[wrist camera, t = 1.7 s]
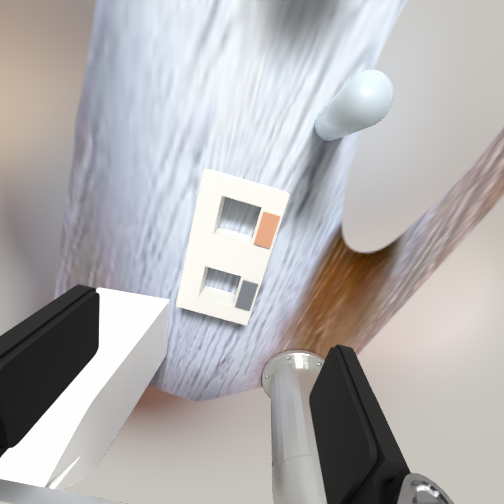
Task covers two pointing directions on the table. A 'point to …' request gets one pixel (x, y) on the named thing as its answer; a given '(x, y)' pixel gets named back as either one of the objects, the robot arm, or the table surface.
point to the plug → (356, 106)
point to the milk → (95, 395)
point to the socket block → (229, 246)
